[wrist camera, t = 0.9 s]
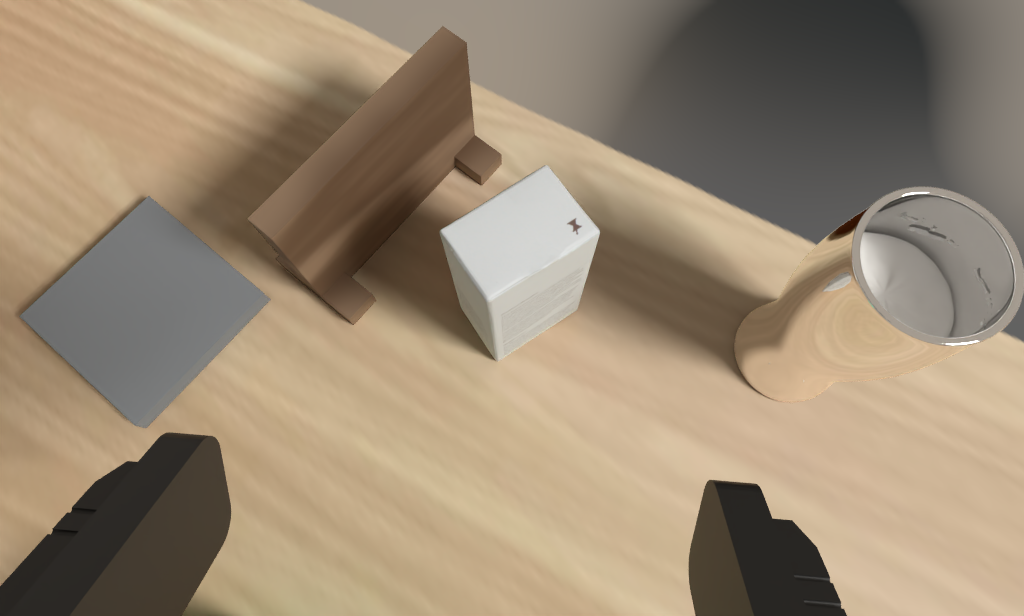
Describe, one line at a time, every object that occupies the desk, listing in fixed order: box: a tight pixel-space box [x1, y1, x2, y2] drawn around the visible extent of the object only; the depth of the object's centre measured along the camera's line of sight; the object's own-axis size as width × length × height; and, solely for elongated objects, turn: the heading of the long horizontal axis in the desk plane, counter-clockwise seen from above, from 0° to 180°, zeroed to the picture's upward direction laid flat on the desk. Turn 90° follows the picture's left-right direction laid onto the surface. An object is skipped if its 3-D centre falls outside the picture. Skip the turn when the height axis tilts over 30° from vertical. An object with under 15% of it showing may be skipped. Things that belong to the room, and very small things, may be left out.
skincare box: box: [440, 165, 600, 361], centre depth 35 cm, size 6×4×12 cm
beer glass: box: [734, 187, 1024, 402], centre depth 33 cm, size 7×7×15 cm
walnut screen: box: [247, 27, 502, 325], centre depth 38 cm, size 6×14×10 cm, turn 141°
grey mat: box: [19, 196, 271, 428], centre depth 40 cm, size 10×10×1 cm
